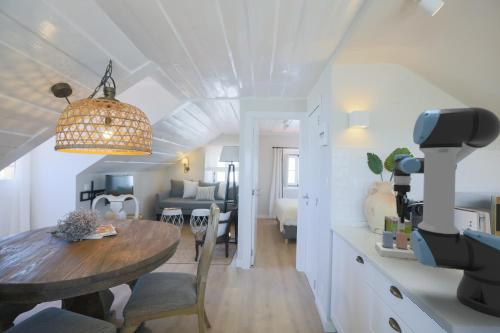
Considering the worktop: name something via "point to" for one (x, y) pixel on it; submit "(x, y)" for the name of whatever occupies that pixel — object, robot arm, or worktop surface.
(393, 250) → the board
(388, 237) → the slate block
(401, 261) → the worktop surface
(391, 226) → the tea box
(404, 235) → the terracotta block
